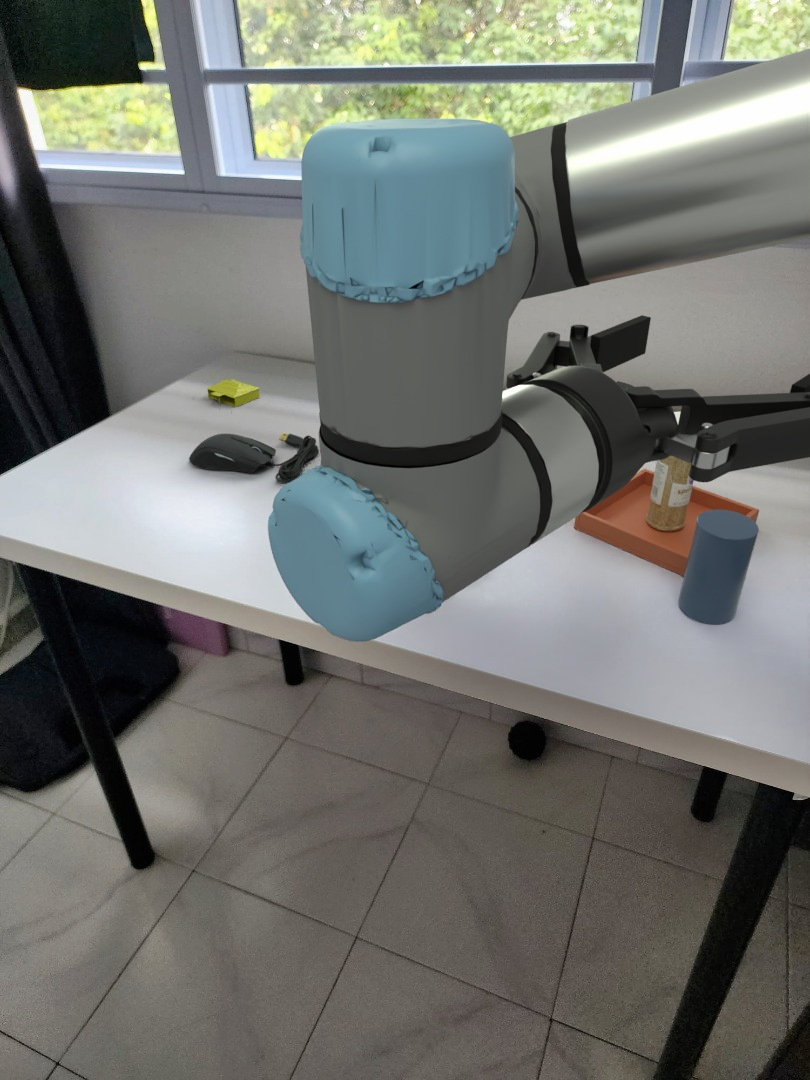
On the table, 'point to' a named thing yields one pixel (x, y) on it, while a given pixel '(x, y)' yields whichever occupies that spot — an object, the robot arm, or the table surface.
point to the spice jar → (670, 493)
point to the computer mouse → (251, 454)
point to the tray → (629, 530)
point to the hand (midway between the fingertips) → (731, 354)
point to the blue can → (717, 566)
